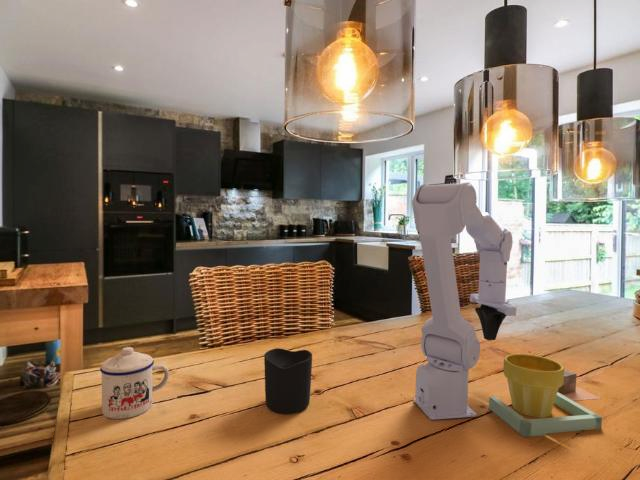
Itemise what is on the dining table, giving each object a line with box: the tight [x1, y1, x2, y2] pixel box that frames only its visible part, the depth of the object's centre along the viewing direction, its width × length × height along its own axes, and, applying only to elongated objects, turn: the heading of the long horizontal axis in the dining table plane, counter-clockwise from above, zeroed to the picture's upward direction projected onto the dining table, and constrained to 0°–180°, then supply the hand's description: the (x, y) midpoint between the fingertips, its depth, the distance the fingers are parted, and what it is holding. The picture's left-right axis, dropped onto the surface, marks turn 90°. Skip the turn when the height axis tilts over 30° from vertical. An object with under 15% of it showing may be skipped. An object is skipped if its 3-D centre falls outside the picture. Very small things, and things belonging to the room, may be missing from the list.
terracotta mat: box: [560, 385, 601, 402], centre depth 85 cm, size 10×10×1 cm
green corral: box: [488, 392, 603, 438], centre depth 73 cm, size 15×10×2 cm, turn 100°
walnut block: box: [558, 368, 577, 395], centre depth 85 cm, size 4×4×4 cm
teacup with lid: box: [99, 346, 170, 420], centre depth 74 cm, size 12×9×12 cm
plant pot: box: [503, 353, 565, 418], centre depth 76 cm, size 10×10×10 cm
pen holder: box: [263, 347, 313, 415], centre depth 76 cm, size 9×9×10 cm
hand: (489, 339), depth 89 cm, fingers closed
